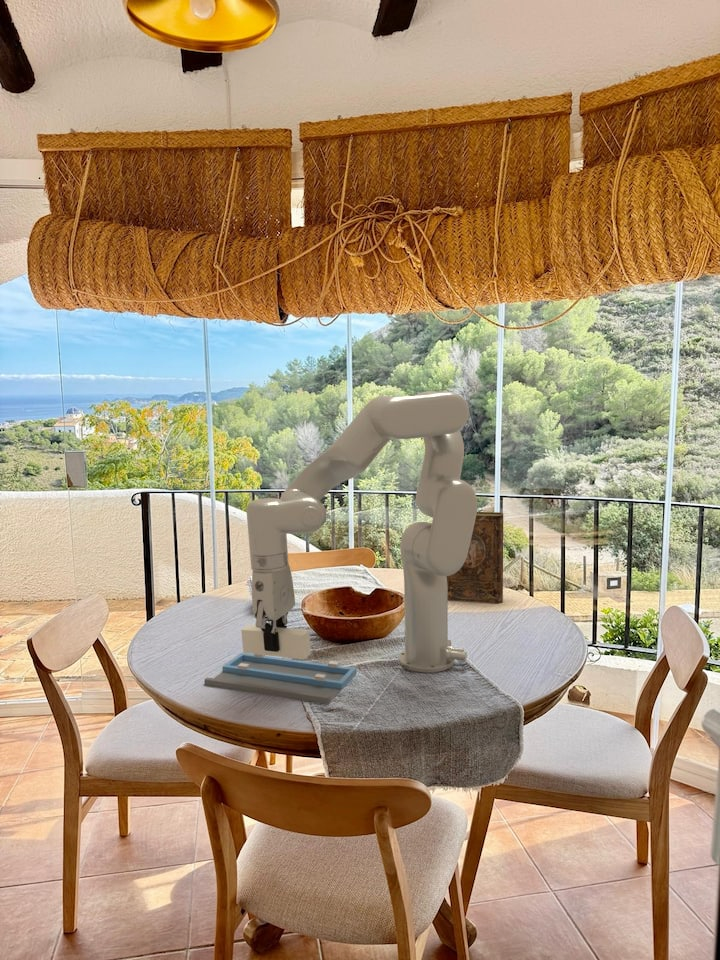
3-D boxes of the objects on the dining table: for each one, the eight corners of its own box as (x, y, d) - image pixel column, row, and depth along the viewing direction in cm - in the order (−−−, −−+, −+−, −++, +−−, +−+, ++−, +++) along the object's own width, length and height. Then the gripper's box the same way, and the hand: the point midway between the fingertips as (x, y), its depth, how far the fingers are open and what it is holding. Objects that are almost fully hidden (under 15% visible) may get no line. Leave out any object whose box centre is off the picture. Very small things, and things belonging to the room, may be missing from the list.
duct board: (356, 676, 150) (356, 664, 150) (328, 708, 136) (328, 694, 136) (242, 660, 160) (241, 649, 160) (204, 688, 146) (204, 675, 145)
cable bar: (310, 653, 143) (309, 629, 142) (304, 659, 140) (302, 635, 139) (250, 647, 148) (248, 624, 147) (243, 652, 145) (241, 629, 144)
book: (503, 598, 201) (504, 512, 198) (501, 604, 196) (502, 516, 193) (446, 594, 206) (446, 510, 202) (443, 600, 201) (443, 514, 197)
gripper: (266, 572, 132) (274, 665, 135) (303, 550, 147) (309, 634, 150) (232, 570, 135) (240, 661, 137) (272, 549, 150) (278, 631, 153)
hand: (276, 646), depth 144 cm, fingers closed on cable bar, 3 cm apart
